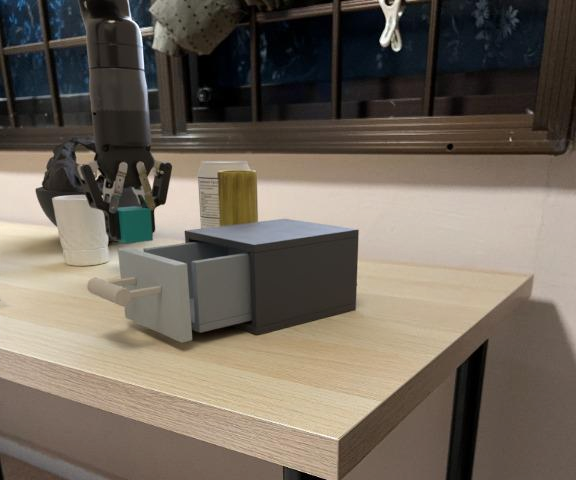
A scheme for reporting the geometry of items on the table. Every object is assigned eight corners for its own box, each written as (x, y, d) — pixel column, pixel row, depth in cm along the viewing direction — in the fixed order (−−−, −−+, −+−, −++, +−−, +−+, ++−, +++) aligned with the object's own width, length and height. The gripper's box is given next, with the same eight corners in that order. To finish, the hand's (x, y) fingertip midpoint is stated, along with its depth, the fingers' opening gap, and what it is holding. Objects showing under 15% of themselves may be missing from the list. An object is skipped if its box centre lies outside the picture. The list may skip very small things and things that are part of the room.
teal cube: (125, 243, 85) (122, 211, 83) (110, 239, 88) (107, 208, 86) (153, 240, 88) (150, 208, 86) (138, 236, 91) (135, 206, 89)
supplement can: (198, 258, 100) (192, 161, 94) (247, 255, 102) (244, 160, 96) (207, 268, 93) (202, 163, 87) (260, 264, 95) (257, 162, 89)
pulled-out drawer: (135, 354, 54) (126, 272, 51) (81, 326, 62) (71, 254, 59) (290, 316, 65) (290, 247, 62) (228, 296, 73) (225, 234, 70)
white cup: (111, 256, 102) (104, 194, 98) (114, 265, 95) (106, 198, 91) (62, 259, 100) (52, 195, 96) (60, 268, 93) (50, 200, 89)
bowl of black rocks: (154, 248, 108) (143, 134, 101) (35, 253, 105) (16, 135, 97) (153, 232, 126) (144, 134, 119) (52, 236, 123) (37, 135, 116)
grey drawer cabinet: (256, 335, 62) (254, 244, 58) (189, 310, 71) (184, 230, 67) (356, 309, 71) (359, 229, 67) (285, 290, 79) (284, 218, 76)
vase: (270, 275, 87) (269, 170, 82) (238, 283, 83) (234, 173, 78) (242, 269, 91) (239, 169, 86) (210, 276, 87) (204, 171, 82)
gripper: (153, 110, 88) (161, 231, 95) (56, 107, 80) (73, 240, 86) (181, 109, 83) (187, 236, 90) (80, 105, 74) (96, 247, 81)
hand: (131, 237), depth 88 cm, fingers closed on teal cube, 4 cm apart
